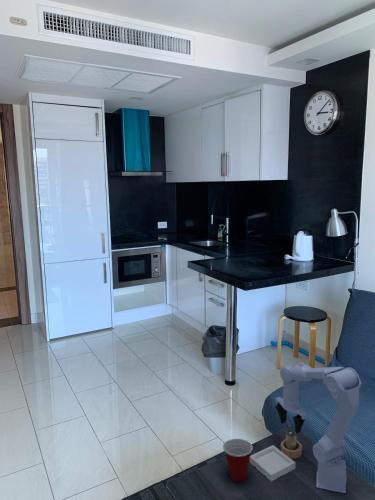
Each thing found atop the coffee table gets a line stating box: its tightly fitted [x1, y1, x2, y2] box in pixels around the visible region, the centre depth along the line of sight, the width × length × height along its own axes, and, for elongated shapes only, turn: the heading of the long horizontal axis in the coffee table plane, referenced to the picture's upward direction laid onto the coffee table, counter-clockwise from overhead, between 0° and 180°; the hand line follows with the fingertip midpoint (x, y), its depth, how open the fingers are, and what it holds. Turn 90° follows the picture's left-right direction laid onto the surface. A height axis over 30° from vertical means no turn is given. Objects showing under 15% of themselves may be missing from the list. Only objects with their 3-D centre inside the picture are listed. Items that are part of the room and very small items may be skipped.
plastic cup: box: [222, 438, 254, 483], centre depth 138 cm, size 11×11×12 cm
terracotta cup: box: [280, 438, 303, 459], centre depth 150 cm, size 8×8×3 cm
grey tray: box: [249, 444, 296, 482], centre depth 143 cm, size 12×12×2 cm
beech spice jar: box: [285, 427, 297, 450], centre depth 150 cm, size 4×4×9 cm
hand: (290, 427), depth 149 cm, fingers open, 7 cm apart
